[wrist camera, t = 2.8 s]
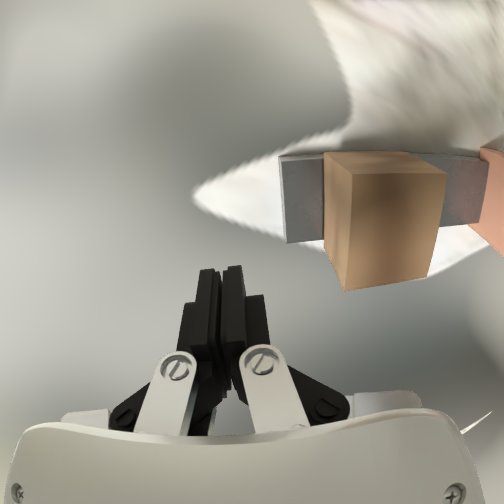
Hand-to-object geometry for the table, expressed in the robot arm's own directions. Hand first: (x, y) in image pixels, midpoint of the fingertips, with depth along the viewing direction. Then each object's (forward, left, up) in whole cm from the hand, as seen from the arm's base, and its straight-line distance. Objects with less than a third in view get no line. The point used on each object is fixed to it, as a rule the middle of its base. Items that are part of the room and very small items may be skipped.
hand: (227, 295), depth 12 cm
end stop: (-24, 0, -10) cm, 26 cm away
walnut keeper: (-9, 0, -8) cm, 12 cm away
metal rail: (-15, 0, -10) cm, 18 cm away
